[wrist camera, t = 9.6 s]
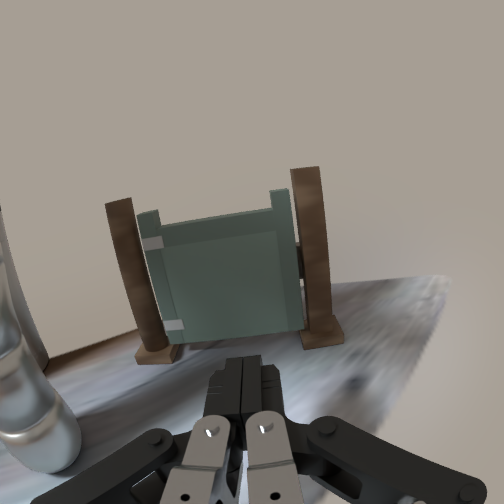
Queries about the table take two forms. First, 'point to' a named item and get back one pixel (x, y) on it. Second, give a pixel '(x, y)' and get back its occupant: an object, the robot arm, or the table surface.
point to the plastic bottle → (31, 400)
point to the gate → (225, 273)
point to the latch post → (314, 260)
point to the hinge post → (138, 285)
